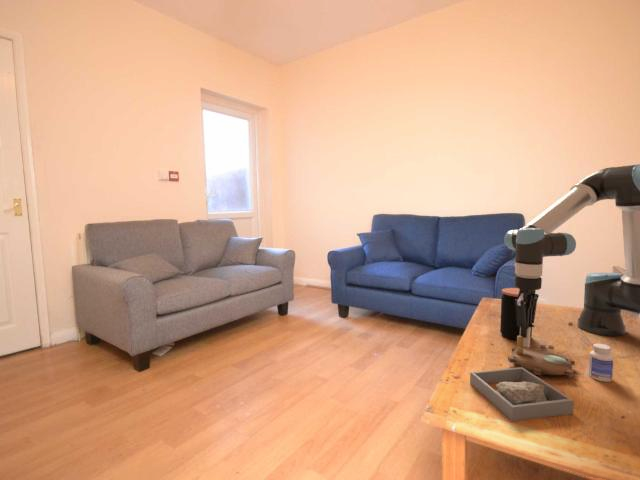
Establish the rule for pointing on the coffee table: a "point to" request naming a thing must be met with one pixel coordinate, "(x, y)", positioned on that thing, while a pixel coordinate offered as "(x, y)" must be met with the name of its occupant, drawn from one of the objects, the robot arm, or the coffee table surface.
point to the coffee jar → (509, 314)
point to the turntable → (540, 360)
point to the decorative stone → (521, 392)
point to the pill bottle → (601, 363)
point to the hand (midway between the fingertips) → (524, 345)
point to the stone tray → (555, 407)
